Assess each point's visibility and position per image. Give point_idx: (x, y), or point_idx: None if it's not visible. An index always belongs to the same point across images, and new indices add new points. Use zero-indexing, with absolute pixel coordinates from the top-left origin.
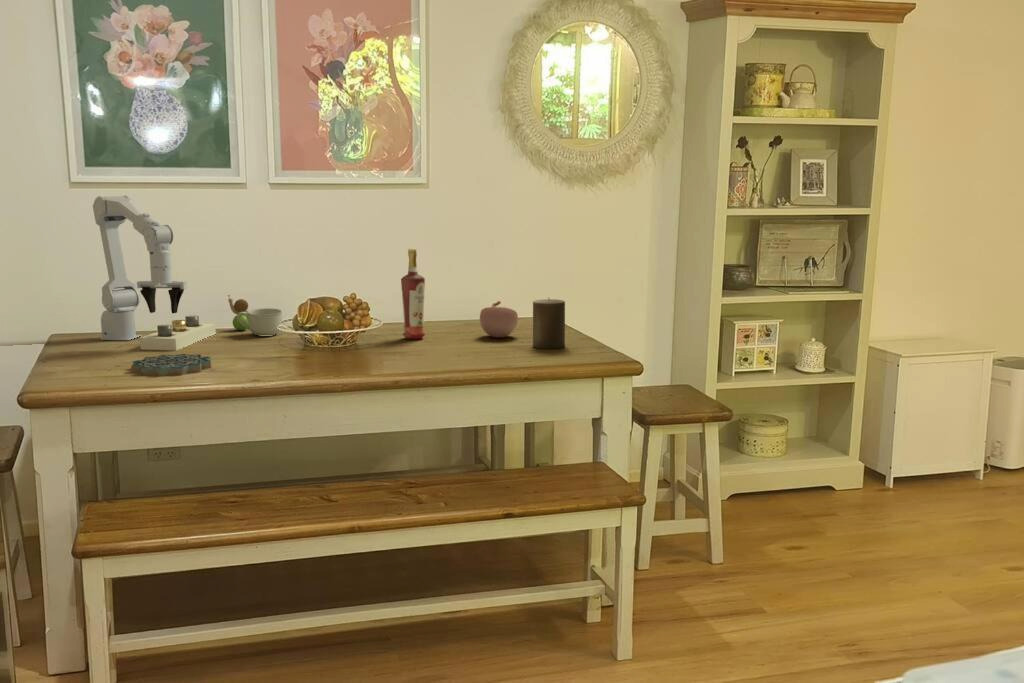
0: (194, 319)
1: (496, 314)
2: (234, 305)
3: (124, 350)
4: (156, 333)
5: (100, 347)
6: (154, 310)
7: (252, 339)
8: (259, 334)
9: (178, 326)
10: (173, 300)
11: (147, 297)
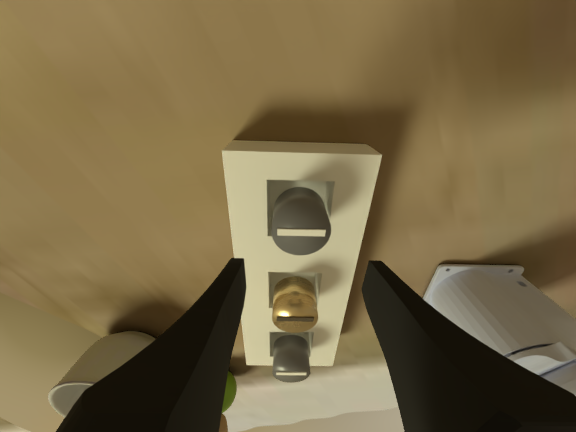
0: (277, 358)
1: None
2: None
3: (422, 122)
4: (347, 244)
5: (517, 168)
6: (366, 290)
7: (129, 306)
8: (129, 332)
9: (286, 290)
10: (186, 319)
11: (446, 342)
